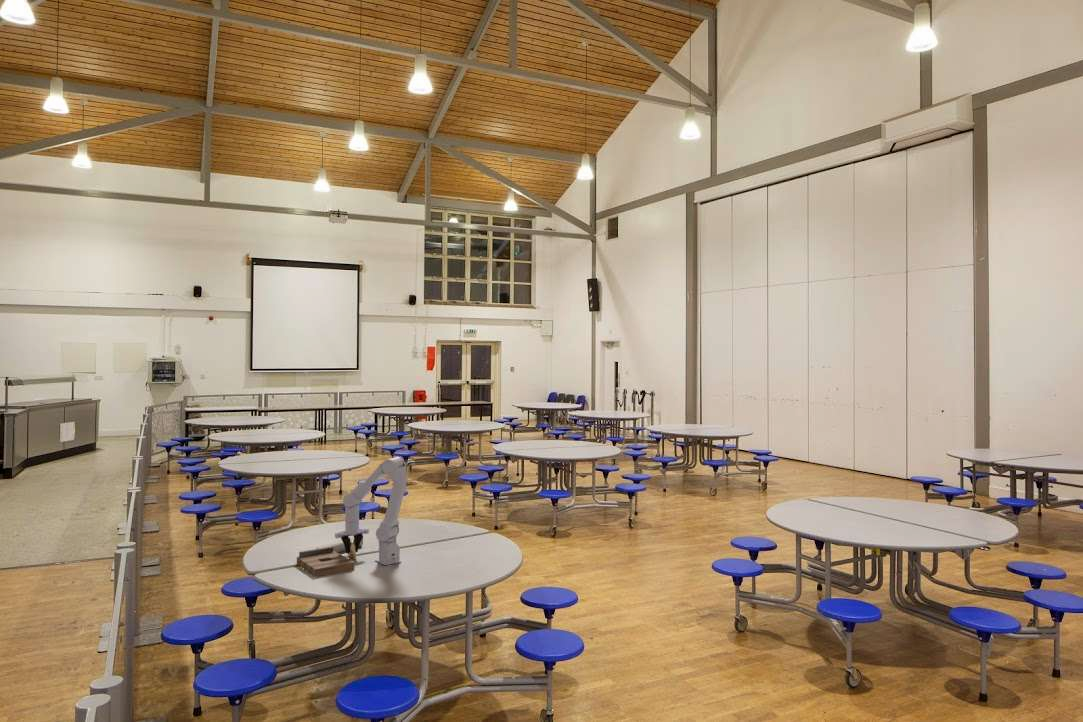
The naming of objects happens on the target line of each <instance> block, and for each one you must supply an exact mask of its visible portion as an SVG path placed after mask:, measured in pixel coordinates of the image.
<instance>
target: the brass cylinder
mask: <svg viewBox="0 0 1083 722" xmlns="http://www.w3.org/2000/svg"><path fill="white" fill-rule="evenodd" d="M356 554H357V552H356V541H350V552H349V554H347V558H349V560H354V559H353V558H355V559H356V556H357V555H356Z"/></svg>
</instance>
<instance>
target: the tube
mask: <svg viewBox="0 0 1083 722" xmlns="http://www.w3.org/2000/svg"><path fill="white" fill-rule="evenodd" d="M349 538H350V541H354V536H352V537H351V536H350V537H349ZM363 544H364V538H363V539H362V540H361V542H360V545H359V546H361V547H362V546H363ZM326 547H333V551H335V552H337V553H339V554H340V553H343V551H344V552H346V550H345V546H344V543H343V541H342V539H341V540H338V541H334V542H331V543H327V544H324V545H321V546H320V545H319V546H317V547H316V548H315V549H320V548H326Z"/></svg>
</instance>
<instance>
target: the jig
mask: <svg viewBox="0 0 1083 722" xmlns="http://www.w3.org/2000/svg"><path fill="white" fill-rule="evenodd" d="M298 552H299V553H298V556H296V565H297V566H298V567H300V568H301V567H302V568H301V569H303V568H304V569H305V570H304V569H303V570H304V571H306V570H307V571H308V572H307V571H306V572H307V573H309V574H310V573H311V574H310V575H312V576H313V575H314V576H318V577H322V576H321V575H323V576H327V575H326V574H329V575H334V574H339V573H344V572H350V571H354V570H355V561H353V560H352V559H348V557H345V556H343V555H342V554H340V553H337V552H335V551H333V547H326V548H320V549H316V548H315V549H308V550H303V551H298ZM349 570H350V571H349ZM333 573H334V574H333ZM314 576H313V577H314Z"/></svg>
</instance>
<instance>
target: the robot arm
mask: <svg viewBox="0 0 1083 722" xmlns="http://www.w3.org/2000/svg"><path fill="white" fill-rule="evenodd" d="M406 468H407V463H406V461H405V460H404V459H403V457H400V456H395V457H391V458H386V459H384V460H383V461H382V462H381V463H380V464H378V466H377V467H376V469H375V470H373V472H372V473H371V474H370V475H369V477H368V478H367V479H366V480H360V481H358V482H357V485H356V486H355V487H354V488H353V489H351V490H350V493H346V494H345V495H344V496H343V499H342V503H343V505H344V507H345V509H344V510H345V514H344V515H345V520H344V521H345V525H344V526H345V529H344V530H343V531H339V532H334V538H335V539H339V538H340V539H341V540H342V541H343V543H344V546H345V550H346V551H345V553H346V554H347V555H348V554H349V552H350V538H351V536H352V537H354V541H356V553H358V551H359V548H360V547H359V545H360V542H361V540H362V539H363V540H364V535H365V534H366V535H369V534H370V529H369V528H360V504H362V501H363V499H364V498H365V497H366V496H367V495H368V494H369V493H370V492H371V491H372V486H373V485H374V484H375V483H377V482H378V480H379V479H381V478H382V477H383V476H384V475H386V476H388V478H390V479H391V481H392V482H393V485H392V487H391V492H390V494H389V498H388V499H389V500H388V502H387V506H386V511H385V514H384V517H383V519H382V520H381V522H380V523H379V526H378V527H377V529H376V531H375V536H376V537H375V538H376V539H377V540H378V558H375V559H374V561H376V562H377V563H379V564H381V565H383V566H389V565H394V564H398V563H402V560H400V558H401V556H400V546H399V544H398V543H397V536H398V535H399V532H400V527H399V525H400V521H399V520H398V518H399V515H400V510H401V506H402V502H403V498H404V495H405V492H406V487H407V483H408V475H407V469H406Z"/></svg>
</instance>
